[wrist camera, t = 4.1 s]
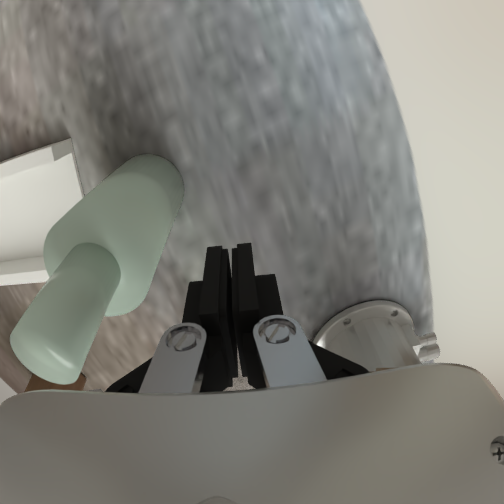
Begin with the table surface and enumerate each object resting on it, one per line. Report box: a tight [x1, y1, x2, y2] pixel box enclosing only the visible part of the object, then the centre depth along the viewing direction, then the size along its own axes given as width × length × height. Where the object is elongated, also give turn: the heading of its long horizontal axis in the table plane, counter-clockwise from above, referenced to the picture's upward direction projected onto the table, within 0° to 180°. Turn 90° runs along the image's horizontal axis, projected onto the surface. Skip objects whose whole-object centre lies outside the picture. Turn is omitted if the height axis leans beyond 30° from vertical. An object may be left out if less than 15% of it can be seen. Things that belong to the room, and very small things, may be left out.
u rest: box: [0, 138, 84, 286], centre depth 23 cm, size 20×11×3 cm, turn 95°
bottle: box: [10, 154, 184, 385], centre depth 17 cm, size 6×6×18 cm
